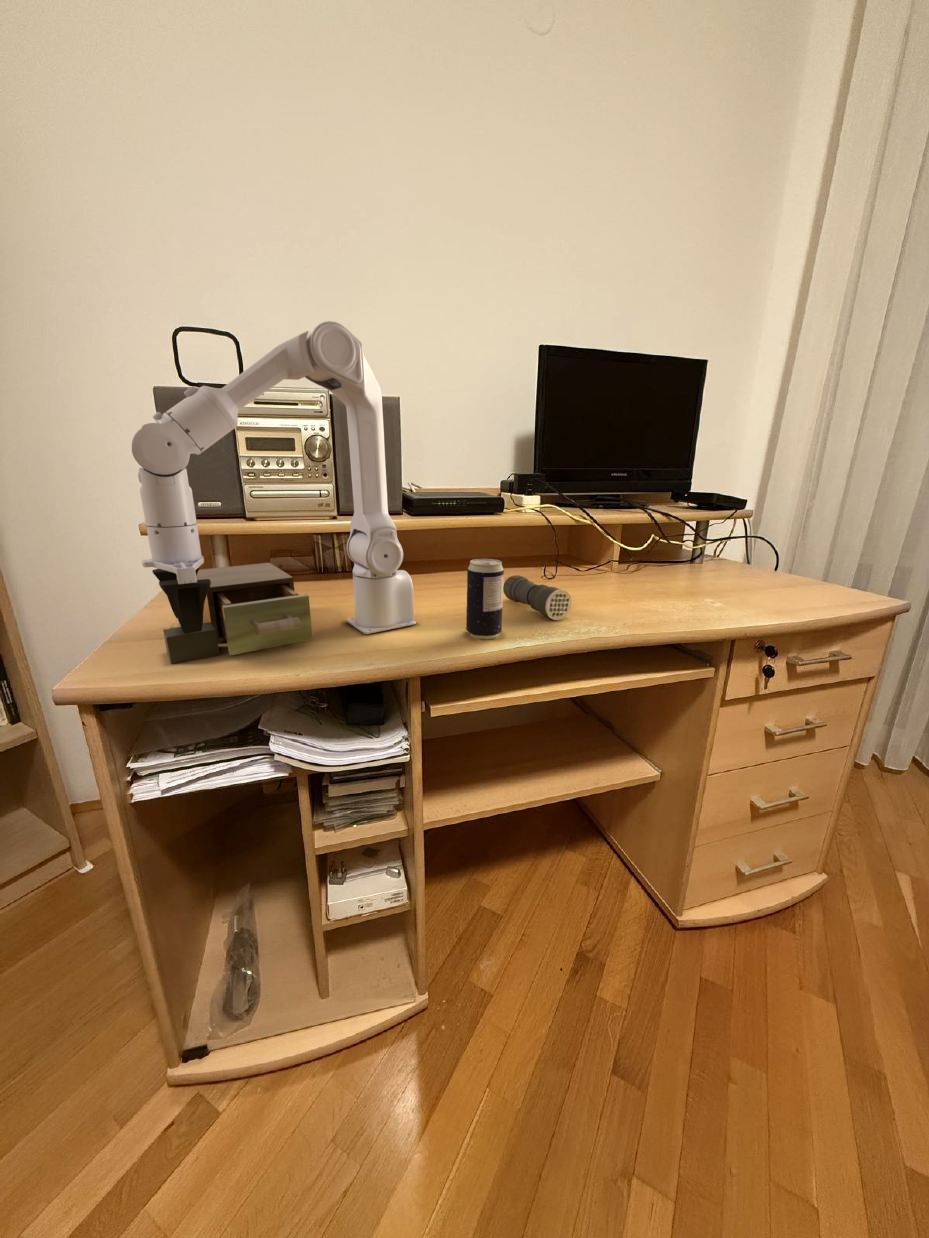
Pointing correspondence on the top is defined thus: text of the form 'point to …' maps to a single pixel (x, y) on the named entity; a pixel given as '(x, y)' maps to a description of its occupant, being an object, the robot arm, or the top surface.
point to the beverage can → (484, 598)
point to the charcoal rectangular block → (191, 643)
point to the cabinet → (239, 584)
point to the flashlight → (538, 597)
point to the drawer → (262, 617)
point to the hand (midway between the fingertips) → (188, 624)
